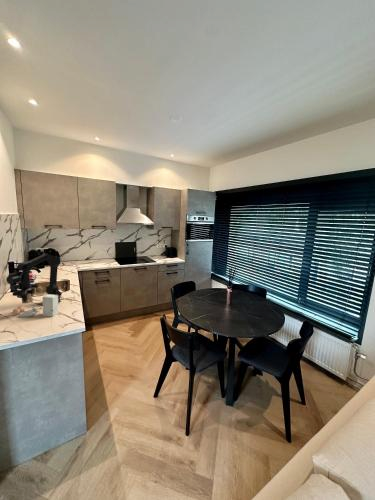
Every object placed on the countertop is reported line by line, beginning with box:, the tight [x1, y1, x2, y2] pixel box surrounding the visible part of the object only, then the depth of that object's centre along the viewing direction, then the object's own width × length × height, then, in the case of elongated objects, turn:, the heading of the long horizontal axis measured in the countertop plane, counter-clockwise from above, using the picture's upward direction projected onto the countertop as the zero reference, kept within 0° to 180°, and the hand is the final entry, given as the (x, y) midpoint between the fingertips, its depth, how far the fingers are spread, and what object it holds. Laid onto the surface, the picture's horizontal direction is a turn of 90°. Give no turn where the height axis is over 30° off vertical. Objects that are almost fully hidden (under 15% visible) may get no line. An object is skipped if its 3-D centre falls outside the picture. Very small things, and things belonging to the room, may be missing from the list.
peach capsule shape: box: [12, 307, 21, 317], centre depth 153 cm, size 4×4×4 cm
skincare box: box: [42, 294, 59, 318], centre depth 154 cm, size 8×6×15 cm
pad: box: [16, 310, 39, 319], centre depth 154 cm, size 9×9×1 cm
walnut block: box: [21, 294, 32, 304], centre depth 152 cm, size 4×4×6 cm
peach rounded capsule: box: [17, 305, 25, 314], centre depth 158 cm, size 4×4×4 cm
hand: (26, 300), depth 152 cm, fingers closed on walnut block, 4 cm apart
